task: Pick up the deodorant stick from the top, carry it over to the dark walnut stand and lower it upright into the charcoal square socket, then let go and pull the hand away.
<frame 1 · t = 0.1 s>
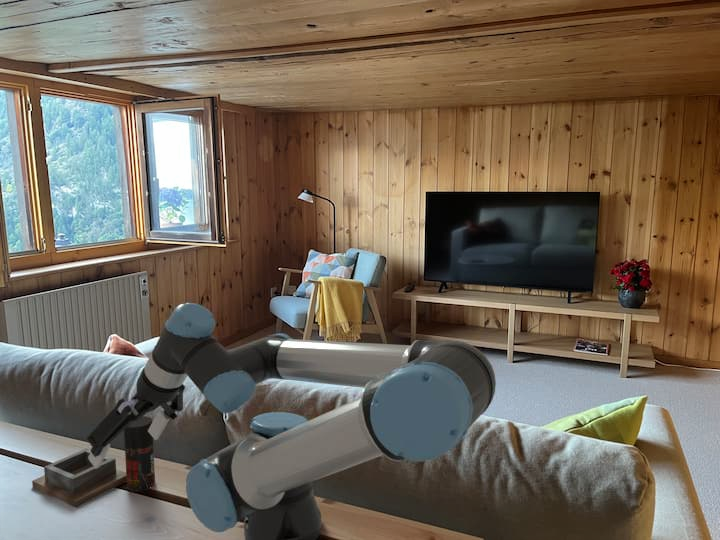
hand: (124, 448, 109), 15 cm above the table, tool tilted 35°, fingers open, 13 cm apart
socket stand: (81, 483, 124), on the table
deodorant: (141, 485, 124), on the table
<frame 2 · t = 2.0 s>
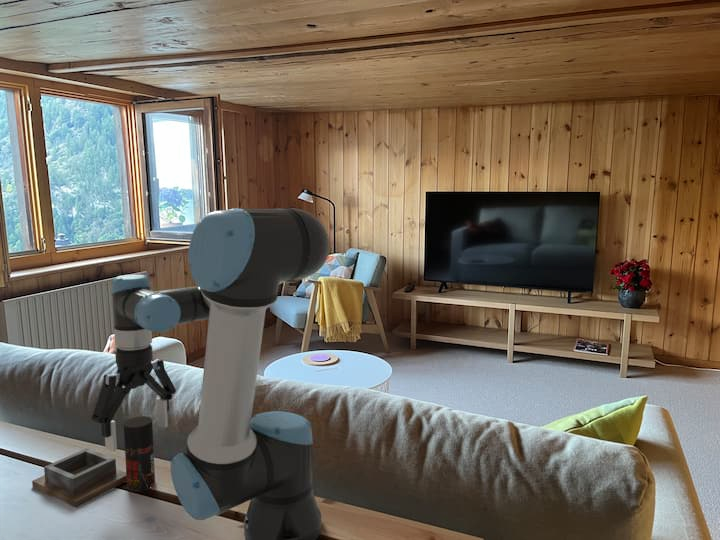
hand: (138, 437, 123), 11 cm above the table, tool pointing down, fingers open, 13 cm apart
nothing on the table moved.
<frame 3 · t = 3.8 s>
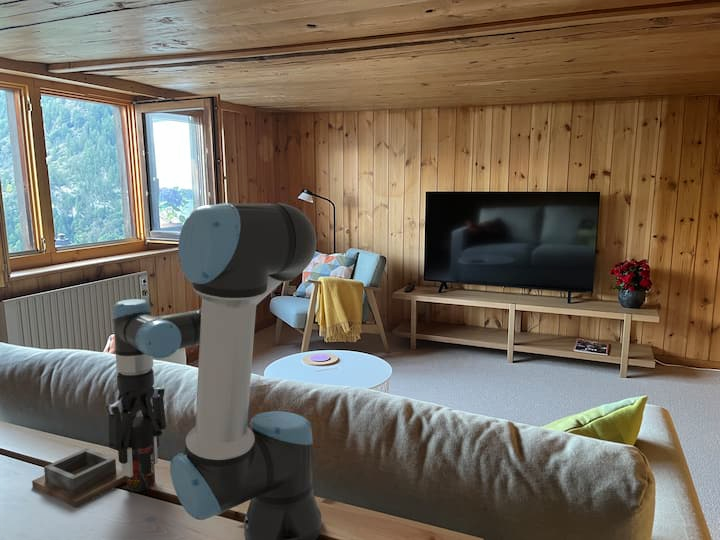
hand: (140, 468, 123), 4 cm above the table, tool pointing down, fingers closed on deodorant, 6 cm apart
deodorant: (141, 485, 124), on the table, touching gripper
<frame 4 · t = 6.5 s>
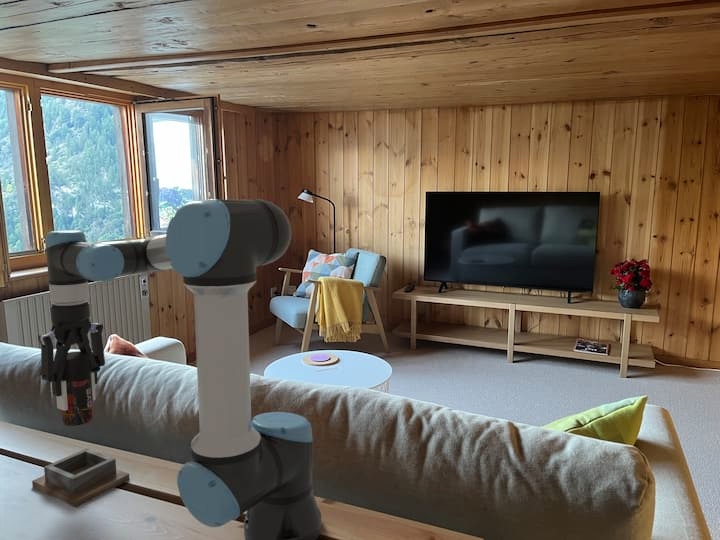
hand: (76, 403, 122), 19 cm above the table, tool pointing down, fingers closed on deodorant, 6 cm apart
deodorant: (78, 421, 122), point 15 cm above the table, touching gripper
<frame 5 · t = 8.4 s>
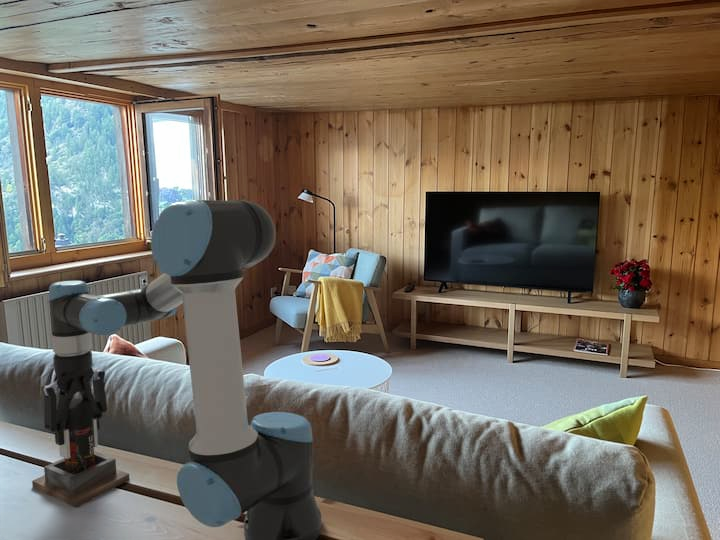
hand: (79, 450, 123), 8 cm above the table, tool pointing down, fingers closed on deodorant, 6 cm apart
deodorant: (80, 467, 124), point 4 cm above the table, touching gripper
when the fingers open (6 cm above the table, at t = 9.5 s): deodorant stays where it is, resting on socket stand.
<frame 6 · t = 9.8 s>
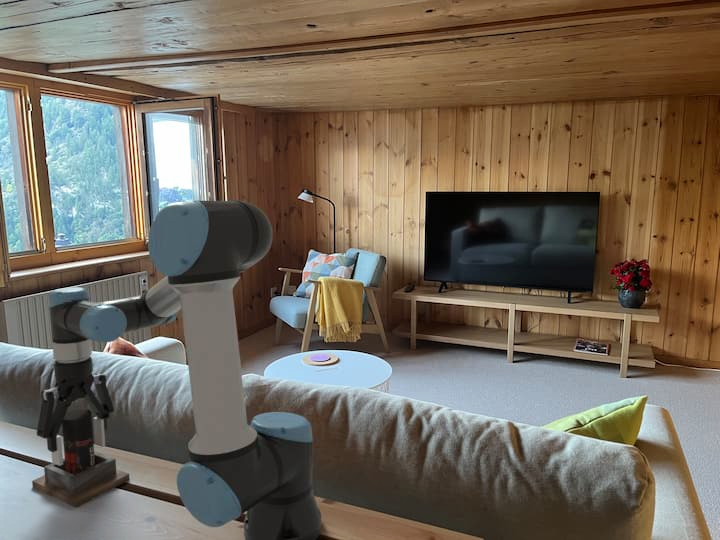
hand: (79, 454, 123), 7 cm above the table, tool pointing down, fingers open, 9 cm apart
deodorant: (81, 478, 124), point 1 cm above the table, touching socket stand
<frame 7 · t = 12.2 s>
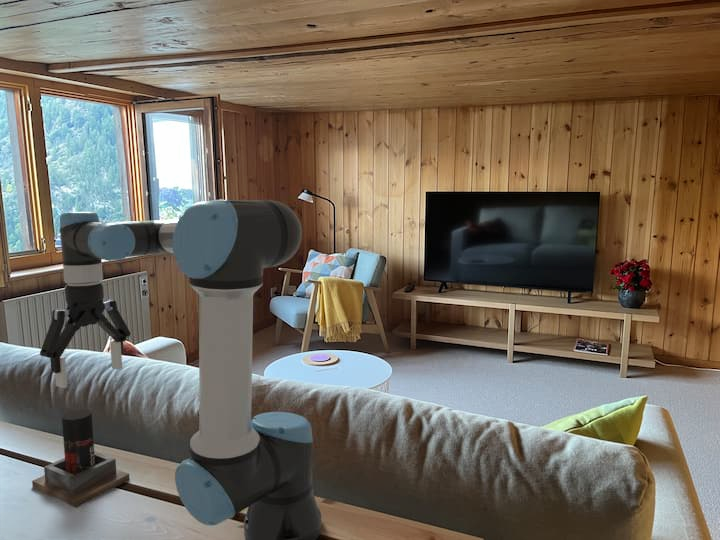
hand: (90, 377, 122), 25 cm above the table, tool pointing down, fingers open, 13 cm apart
nothing on the table moved.
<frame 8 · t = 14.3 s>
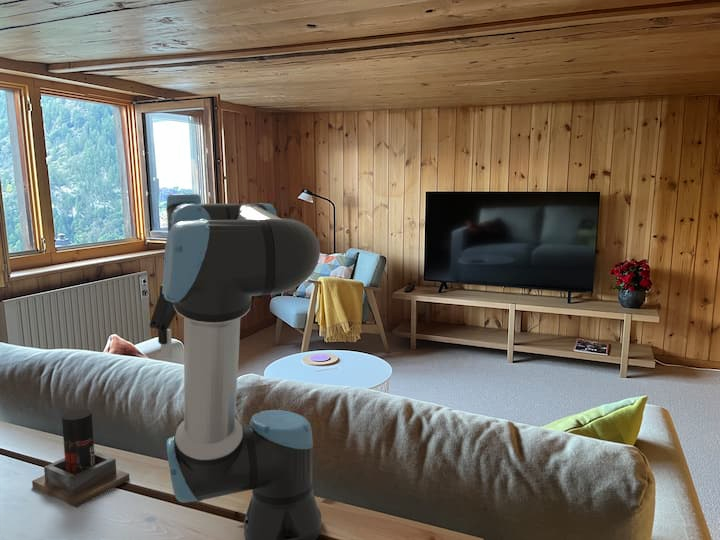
hand: (189, 349, 130), 29 cm above the table, tool pointing down, fingers open, 13 cm apart
nothing on the table moved.
at the end: deodorant 0.0 cm off-centre on the socket stand, point 1.3 cm above the socket stand's base; deodorant tilted 0°; the gripper is holding nothing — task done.
